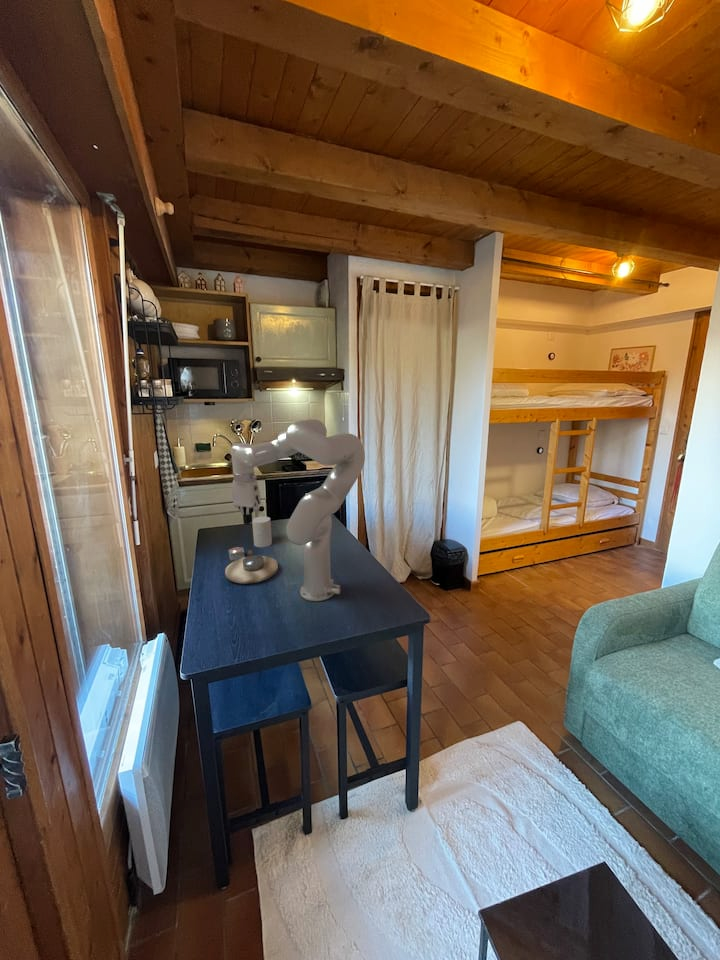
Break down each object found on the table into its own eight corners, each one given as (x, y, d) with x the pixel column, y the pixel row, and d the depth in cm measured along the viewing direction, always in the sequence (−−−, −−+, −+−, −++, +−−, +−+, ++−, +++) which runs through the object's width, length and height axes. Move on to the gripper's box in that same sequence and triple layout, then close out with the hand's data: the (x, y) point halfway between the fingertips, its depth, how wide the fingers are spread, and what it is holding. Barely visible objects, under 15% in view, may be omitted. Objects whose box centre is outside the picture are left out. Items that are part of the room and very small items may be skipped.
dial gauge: (243, 553, 167) (242, 545, 166) (244, 558, 163) (244, 550, 162) (229, 555, 165) (228, 547, 164) (230, 560, 161) (229, 552, 160)
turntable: (274, 555, 163) (273, 546, 161) (281, 577, 144) (280, 567, 143) (225, 563, 156) (224, 553, 155) (226, 587, 138) (224, 576, 137)
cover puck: (263, 560, 155) (262, 554, 154) (265, 569, 148) (264, 562, 147) (242, 563, 153) (242, 557, 152) (244, 573, 145) (243, 565, 144)
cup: (250, 545, 176) (248, 520, 173) (262, 538, 183) (260, 515, 180) (263, 548, 172) (261, 523, 169) (275, 542, 179) (273, 518, 176)
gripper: (267, 476, 141) (270, 522, 146) (234, 472, 147) (238, 517, 151) (254, 481, 134) (258, 529, 139) (221, 477, 140) (225, 523, 145)
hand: (248, 523), depth 145 cm, fingers closed
